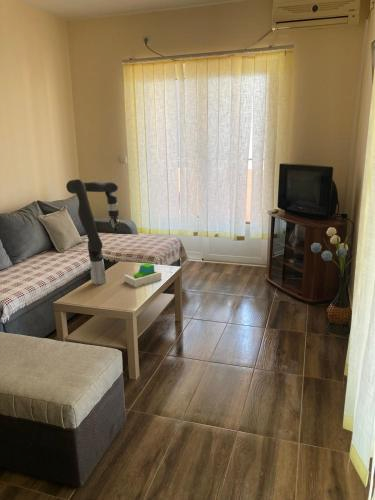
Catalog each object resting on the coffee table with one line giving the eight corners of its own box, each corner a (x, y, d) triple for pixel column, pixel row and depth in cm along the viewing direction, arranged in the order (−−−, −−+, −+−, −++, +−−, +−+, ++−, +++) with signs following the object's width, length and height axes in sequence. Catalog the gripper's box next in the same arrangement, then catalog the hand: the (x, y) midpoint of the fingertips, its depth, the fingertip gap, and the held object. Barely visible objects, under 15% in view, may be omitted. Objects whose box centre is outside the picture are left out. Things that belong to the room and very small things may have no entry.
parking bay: (135, 287, 275) (134, 280, 274) (124, 281, 286) (124, 275, 285) (161, 279, 288) (161, 272, 286) (150, 274, 299) (149, 268, 298)
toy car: (132, 280, 289) (131, 267, 286) (147, 275, 298) (146, 262, 295) (141, 283, 282) (140, 270, 279) (155, 278, 290) (154, 265, 288)
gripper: (104, 209, 298) (106, 231, 302) (112, 211, 288) (115, 234, 292) (113, 207, 302) (115, 230, 307) (121, 209, 292) (124, 232, 297)
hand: (115, 232), depth 299 cm, fingers closed
